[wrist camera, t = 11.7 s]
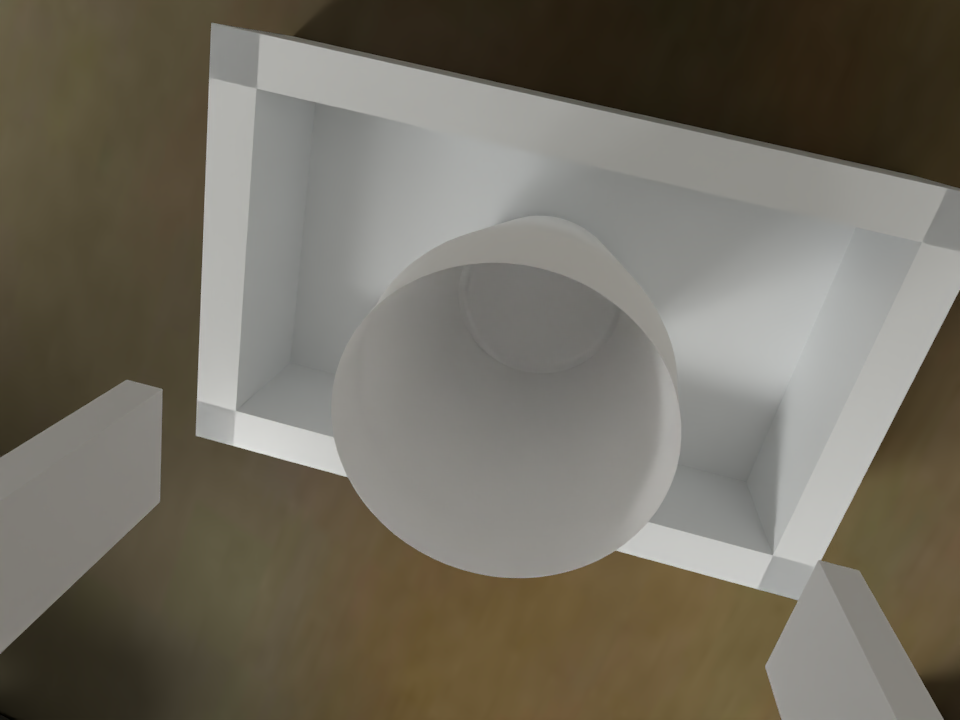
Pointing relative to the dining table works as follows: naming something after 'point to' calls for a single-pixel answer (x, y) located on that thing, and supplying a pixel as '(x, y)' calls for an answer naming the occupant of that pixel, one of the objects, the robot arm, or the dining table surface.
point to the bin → (619, 227)
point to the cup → (511, 402)
